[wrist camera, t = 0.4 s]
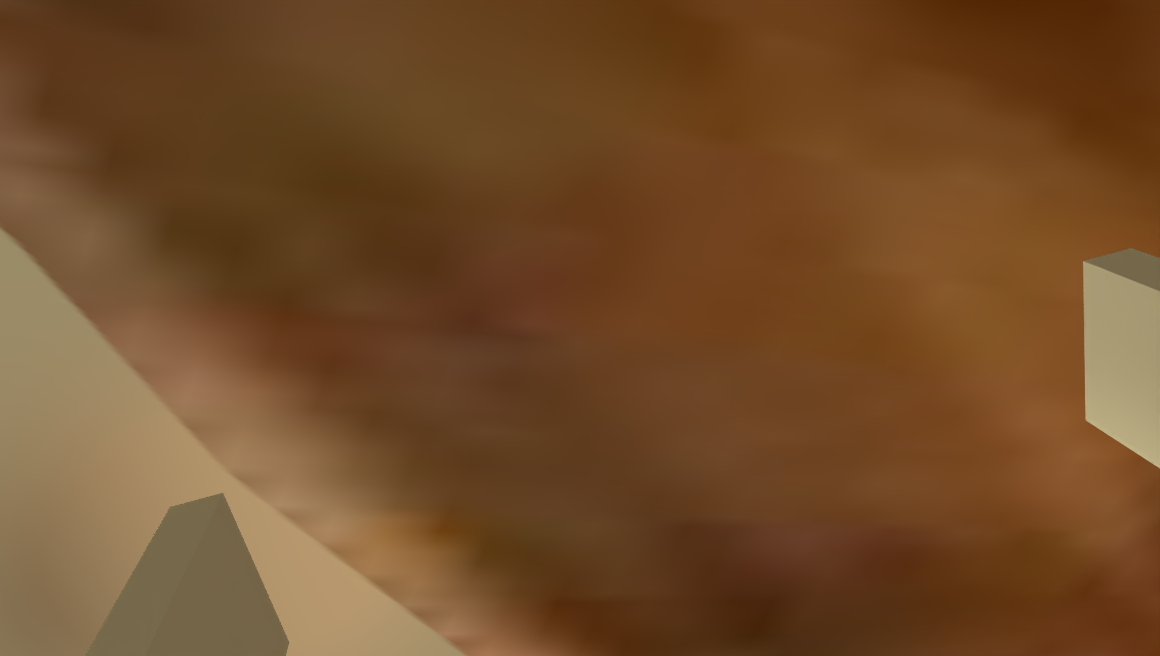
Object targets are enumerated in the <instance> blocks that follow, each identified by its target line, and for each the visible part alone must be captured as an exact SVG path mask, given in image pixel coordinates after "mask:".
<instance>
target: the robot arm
mask: <svg viewBox="0 0 1160 656" xmlns="http://www.w3.org/2000/svg"><path fill="white" fill-rule="evenodd" d="M1083 273H1084V338H1085V404H1086V421H1088V422H1089V423H1091V424H1092V425H1094V426H1095V427H1097V428H1098V429H1100V430H1102V431H1103V432H1105V433H1106V434H1108V435H1109V436H1111V437H1112V438H1114V439H1115V440H1117V441H1119V442H1120V443H1122V444H1123V445H1125V446H1126V447H1128V448H1129V449H1131V450H1132V451H1134V452H1136V453H1137V454H1139V455H1140V456H1142V457H1143V458H1145V459H1146V460H1148V461H1149V462H1151V463H1153V464H1154V465H1156V466H1157V467H1159V468H1160V258H1158V257H1155V256H1152V255H1149V254H1146V253H1143V252H1140V251H1138V250H1135V249H1132V248H1130V249H1126V250H1123V251H1119V252H1115V253H1111V254H1108V255H1104V256H1100V257H1097V258H1093V259H1089V260H1085V261H1083ZM288 644H289V641H288V639H287V636H286V634H285V632H284V630H283V627H282V625H281V623H280V621H279V618H278V616H277V614H276V612H275V609H274V607H273V605H272V603H271V600H270V598H269V596H268V594H267V591H266V589H265V587H264V585H263V582H262V580H261V578H260V576H259V573H258V571H257V569H256V567H255V564H254V562H253V560H252V558H251V555H250V553H249V551H248V548H247V546H246V544H245V542H244V539H243V537H242V535H241V533H240V530H239V528H238V526H237V524H236V521H235V519H234V517H233V515H232V512H231V510H230V508H229V506H228V503H227V501H226V499H225V497H224V494H223V493H221V494H217V495H214V496H210V497H206V498H202V499H199V500H195V501H191V502H187V503H184V504H180V505H176V506H173V507H170V508H169V510H168V512H167V513H166V515H165V517H164V519H163V520H162V522H161V524H160V526H159V527H158V529H157V531H156V533H155V534H154V536H153V538H152V540H151V542H150V543H149V545H148V547H147V548H146V550H145V552H144V554H143V555H142V557H141V559H140V561H139V563H138V564H137V566H136V568H135V569H134V571H133V573H132V575H131V576H130V578H129V580H128V582H127V583H126V585H125V587H124V589H123V590H122V592H121V594H120V596H119V597H118V599H117V601H116V603H115V604H114V606H113V608H112V610H111V611H110V613H109V615H108V616H107V618H106V620H105V622H104V623H103V625H102V627H101V629H100V630H99V632H98V634H97V636H96V638H95V639H94V641H93V643H92V644H91V646H90V648H89V650H88V652H87V653H86V655H85V656H286V652H287V648H288Z"/></svg>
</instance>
